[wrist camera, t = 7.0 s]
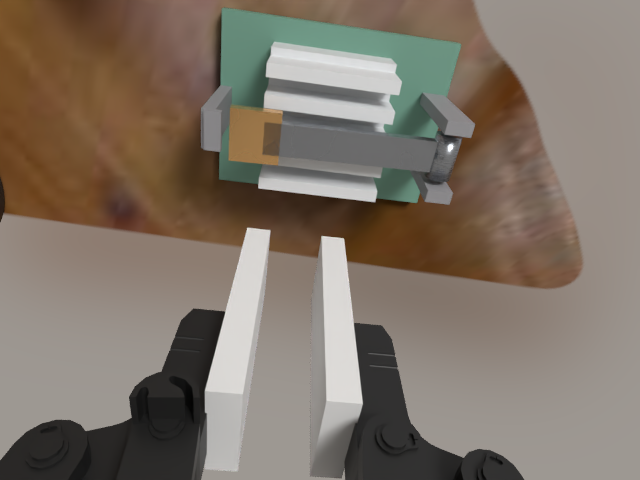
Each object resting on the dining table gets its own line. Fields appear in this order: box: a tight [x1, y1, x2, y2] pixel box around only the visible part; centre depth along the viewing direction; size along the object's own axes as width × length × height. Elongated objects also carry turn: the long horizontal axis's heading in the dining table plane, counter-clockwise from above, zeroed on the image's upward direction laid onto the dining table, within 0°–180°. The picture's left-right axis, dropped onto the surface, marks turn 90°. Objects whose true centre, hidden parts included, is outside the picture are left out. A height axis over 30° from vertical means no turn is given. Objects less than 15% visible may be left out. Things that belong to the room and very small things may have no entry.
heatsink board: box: [201, 7, 475, 204], centre depth 29 cm, size 16×12×8 cm
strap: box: [229, 104, 462, 182], centre depth 27 cm, size 14×3×2 cm, turn 82°
